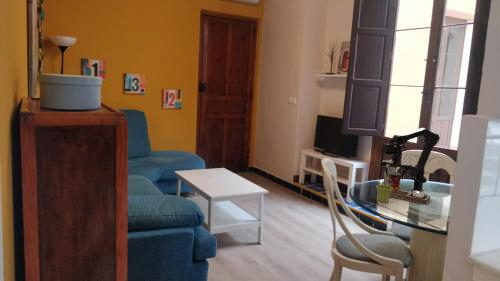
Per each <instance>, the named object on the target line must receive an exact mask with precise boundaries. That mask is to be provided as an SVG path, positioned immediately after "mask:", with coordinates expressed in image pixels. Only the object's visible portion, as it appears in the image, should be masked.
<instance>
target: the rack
mask: <svg viewBox="0 0 500 281" xmlns="http://www.w3.org/2000/svg"><path fill="white" fill-rule="evenodd" d="M412 194H413V191H412V192H411V191H405V190H402V189H401V190H400V189H399V190H396V189H392V191H391V194H390V198H394V199H398V200H399V199H400V200H403V201H408V202H414V203H418V204H423V205H426V204H427V203H428V202H430V200H431V195H427V194H424V199H421V198H416V197H412Z"/></svg>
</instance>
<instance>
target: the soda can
mask: <svg viewBox="0 0 500 281" xmlns="http://www.w3.org/2000/svg"><path fill="white" fill-rule="evenodd" d="M401 178H402V175H401V173H400V172H399V171H398V172H397V171H396V172H390V173H389V180H388V185H387V186H390V187H392V188H393V189H396V190H400V184H401Z"/></svg>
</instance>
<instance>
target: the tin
mask: <svg viewBox="0 0 500 281" xmlns="http://www.w3.org/2000/svg"><path fill="white" fill-rule="evenodd" d="M412 193H413V194H412V197H416V198H421V199H424V195H425V192H424V191H413V190H412Z"/></svg>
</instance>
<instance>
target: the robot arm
mask: <svg viewBox="0 0 500 281" xmlns="http://www.w3.org/2000/svg"><path fill="white" fill-rule="evenodd" d="M421 136H422V137H423V138H424V146H423V149H422V151H421V153H420V156H419V158H418V160H417V163H416V165H414V166H413V165H412V164H411V163H410V164H409V163H405V164H402V159H403V149H406V148H407V146H406V145H405V144H406V143H408V141H410V140H413V139H417V138H419V137H421ZM440 139H441V138H440V135H439V133H435V132H432V131H431V130H430V129H427V128H426V127H425V128H424V127H420V128H418V129H415V130H412V131H409V132H406V133H398V134H397V133H396V134H394V135H393V137H392V138H391V139H390V141H389V142H388V143H383V145H382V146H381V148H380V153H381V154H382V155H386V156H388V155H391V158H390V159H389V160H390V162H389V161H386V160H382V161H380V163H379V165H380V167H381V168H383V169H384V172H385V171H386V175H387V177H388V173H389V167H394V168H396V169H397V168H402V175H401V180H404V177H405V176H406V173H407V172H409V176H410V178H411V180H412V181H413V186H412V189H411V191H412V192H413V191H422V192H424V189H423V186H424V184H426V183H427V181H428V180H427V177H426V176H425V167H426V165H427V161H428V159H429V157H430V155H431V153H432V150H433V148H434V147H435V146H437V145H438V143H439V141H440ZM388 165H389V166H388Z"/></svg>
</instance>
